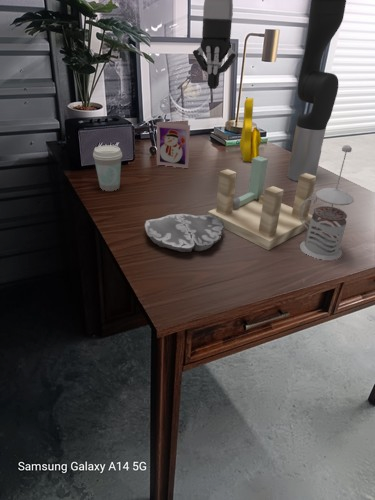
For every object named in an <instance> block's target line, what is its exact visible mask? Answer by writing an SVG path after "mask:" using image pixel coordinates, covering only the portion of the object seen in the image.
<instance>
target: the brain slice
mask: <svg viewBox="0 0 375 500" xmlns="http://www.w3.org/2000/svg"><path fill="white" fill-rule="evenodd" d="M144 229H145V233H146V235H147V237H149V238H150V240H151V241H152V242H153V243H154V244H155V245H157V246H159V248H160V247H161V248H166V249H170V250H173V251H178V252H180V253H187V252H188V253H189V252H190V253H191V252H192V251H196V252H203V251H205V250H208V249H209V248H212V246H213V245H214V244H216V243H217V242H218V241H219V240H221V237H222V236H223V231H224V230H225V226H224V223H223V222H222V221H221V220H219V218H218V217H216V216H212V215H208V214H206V215H205V214H204V215H203V214H202V215H194V214H187V213H178V214H176V213H175V214H174V213H173V214H168V215H165V216H162V217H159V218H152V219H148V220H147V219H146V220H145V223H144Z"/></svg>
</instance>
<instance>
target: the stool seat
mask: <svg viewBox="0 0 375 500" xmlns="http://www.w3.org/2000/svg"><path fill="white" fill-rule="evenodd" d="M218 173H219V176H218V183H217V184H218V185H217V194H216V195H217V197H216V207H215V208H213V209H211V210H208V211H207V215H212V216H216V217H218V218H219V220H221V221H222V222H223V223H224V226H225V228H224V230H227V231H228V232H231V233H233V234H234V235H237V236H238V237H241V238H242V239H245V240H247V241H249V242H251V243H253V244H255V245H257V246H259V247H261V248H263V249H265V250H266V251H269V250H271V249H274V247H276V246H279V245H281V244H282V243H284V242H286V241H288V240H290V239H291V238H293V237H295V236H297V235H299V234H300V233H302V232H304V231H307V227H308V229H309V225H308V224H307V223H306V222H308V223H309V224H310V221H311V217H312V215H313V214H310V213H309V212H310V208H311V207H310V206H311V203H312V200H313V199H312V198H310V197H313V196H314V195H313V193H314V189H315V185H316V181H317V175H316V176H314V175H311V174H307V173H305V174H302V175H300V176H299V180H298V181H297V187H296V191H295V197H294V200H293V206H289V205H287V204H285V203H282V201H283V197H284V192H285V191H284V189H282V188H279V187H276V186H274V185H272V186H270V187H267V188H265V189H264V192H263V195H260V196H259V198H258V199H254V200H252V201H250V202H248V203H246V204H244V205H242V206H240V207H239V208H238V209H233V201H234V198H235V193H236V191H235V189H236V183H237V181H236V180H237V172H236V171H234V170H231V169H229V168H227V169H224V170H220V171H219V172H218ZM308 198H310V199H312V200H309V201H307V202H305V200H306V199H308ZM304 202H305V204H304V205H303V210H302V214H303V218H304V219H305V221H306V222H305V221H304V220H303V218H302V215H301V211H300V207H301V205H302V204H303V203H304ZM301 209H302V207H301ZM299 211H300V217H301V221H302V222H303V224H305V225H306V226H307V227H305V226H304V225H303V224H302V222H301V221H300V218H299Z"/></svg>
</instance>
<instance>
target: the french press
mask: <svg viewBox="0 0 375 500" xmlns="http://www.w3.org/2000/svg"><path fill="white" fill-rule="evenodd" d="M341 151H342V152H344V156H343V157H344V158H343V161H342V164H341V168H340V172H339V176H338V180H337V183H336V184H337V185H336V187H324V188H322V189H321V188H320V189H319V190H317V191H316V192H315V195H312V197H310V198H312V199H310V198H308V199H306V200H305V202H307V201H309V200H311V201H312V200H313V205H315V204H316V203H317V201H318V200H320V201H321V202H324V203H326V204H329V205H331V206H329V205H325V206H324V205H322V206H317V207H316V208H314V209H313V213H312V214H311V215H312V217H311V221H310V224H309V223H308V222H306V221H305V219H304V218H303V214H302V210H303V205H304V204H305V202H304V203H303V204H302V205H301V207H302V209H301V207H300V211H301V215H302V218H303V220H304V221H305V222H306V223H307V224H308V225H309V228H308V227H307V226H306V225H305V224H303V222H302V221H301V217H300V211H299V218H300V221H301V222H302V224H303V225H304V226H305V227H307V229H306V234H305V238H304V240H303V241H302V242H301V243H300V244H299V247H300V250H301V252H302V253H304V254H305V255H306V254H307V255H306V256H308V255H309V256H308V257H310V256H312V257H314V258H313V259H315V258H317V259H316V260H319V259H322V260H321V261H324V260H331V259H336V258H338V257H339V256H341V253H342V254H343V251H342V250H341V247H340V246H341V243H342V240H343V236H344V233H345V230H346V225H347V220H346V218H347V217H348V215H347V213H346V212H345V211H343V210H342V209H340V208H336V207H333V205H334V206H350V205H351V204H352V203H354V201H355V198H354V196H353V195H351V193H349V192H348V191H347V190H344V189H341V188H339V184H340V180H341V175H342V171H343V167H344V163H345V160H346V157H347V156H346V155H347V153H351V152H352V151H353V150H352V147H351V146H350V145H349V144H347V145H343V146H342V148H341ZM319 222H320V223H319ZM327 222H328V223H327ZM336 222H337V223H336ZM332 225H333V226H332ZM312 257H311V258H312ZM341 257H342V256H341ZM336 260H337V259H336Z"/></svg>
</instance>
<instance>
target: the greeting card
mask: <svg viewBox="0 0 375 500" xmlns="http://www.w3.org/2000/svg"><path fill="white" fill-rule="evenodd" d="M190 135H191V125H189V120H188V119H187V120H171V121H169V120H168V121H157V122H156V166H158V165H165V166H164V167H167V166H173V167H172V168H176V167H182V168H181V169H184V168H188V169H189V160H190V159H189V158H190V138H191V137H190Z"/></svg>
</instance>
